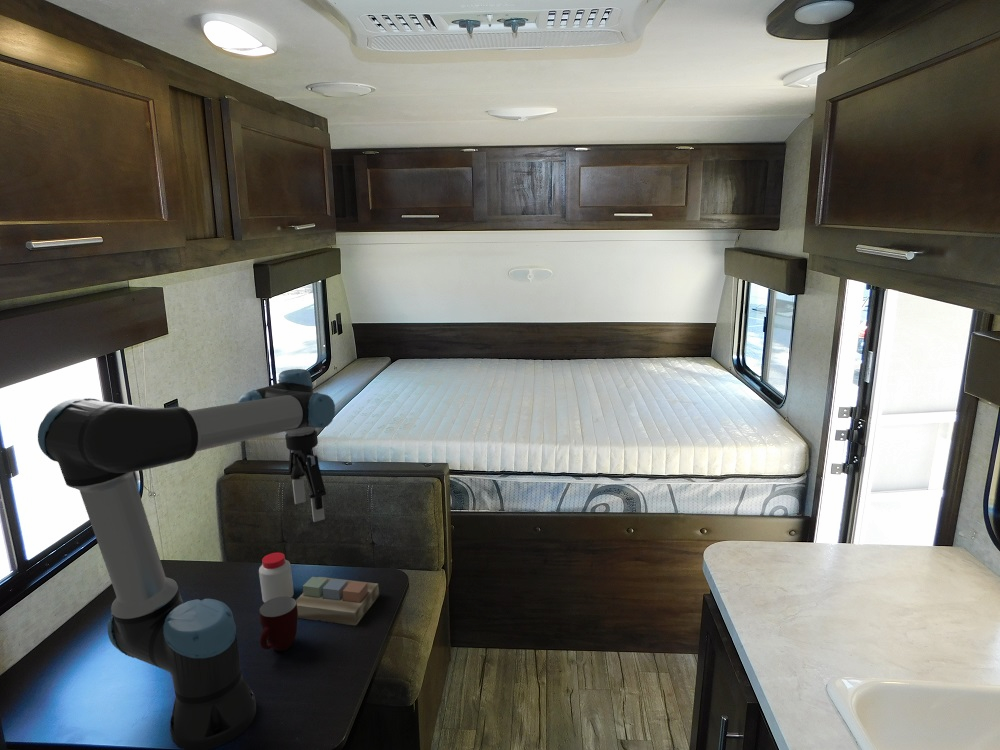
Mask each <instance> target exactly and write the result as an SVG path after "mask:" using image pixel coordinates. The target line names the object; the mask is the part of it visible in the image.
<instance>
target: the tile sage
mask: <svg viewBox="0 0 1000 750" xmlns="http://www.w3.org/2000/svg"><path fill="white" fill-rule="evenodd" d="M319 577H320V576H317V577H315V576H311V577H310V578H309V579H308V580H307V581H306V582H305V583H304V584H303V585H302V593H304V596H307V597H315V598H321V597H322V595H323V587H324V586H325V585H326V584H327V583H328V579H327V578H328V577H325V578H319Z"/></svg>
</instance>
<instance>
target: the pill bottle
mask: <svg viewBox="0 0 1000 750" xmlns="http://www.w3.org/2000/svg"><path fill="white" fill-rule="evenodd" d="M261 561H262V562H261V563H262V564H261V565H260V566H259V569H258V577H259V582H260V591H261V597H262V598H261V599H262V602H263V604H264V603H265V602H267V601H269V600H271V599H273V598H277V597H291V598H293V596H294V594H295V591H294V583H293V576H292V567H291V563H290V561H289V560H287V559H286V556H285V554H284V553H282V552H272V553H269V554H267V555H264V557H263V558H262V559H261Z"/></svg>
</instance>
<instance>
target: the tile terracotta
mask: <svg viewBox="0 0 1000 750" xmlns="http://www.w3.org/2000/svg"><path fill="white" fill-rule="evenodd" d="M353 581H354V580H351V582H350V583H349V584H348V585H347V586H346V588H345V589H344V590H343V599H344V601H347V602H355V603H361V602H362V601H363V599H364V598H365V597H366V596H367V594H368V588H367V583H362V582H363V581H360V582H353Z"/></svg>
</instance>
